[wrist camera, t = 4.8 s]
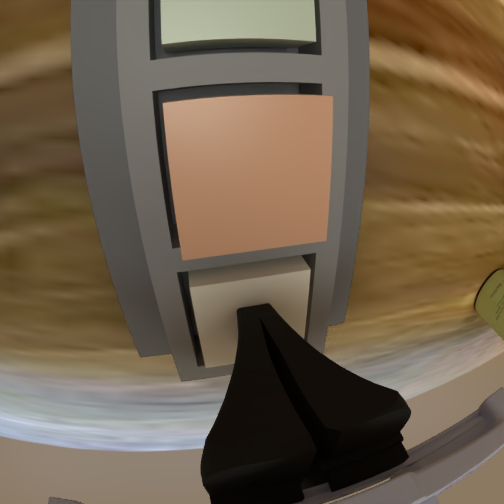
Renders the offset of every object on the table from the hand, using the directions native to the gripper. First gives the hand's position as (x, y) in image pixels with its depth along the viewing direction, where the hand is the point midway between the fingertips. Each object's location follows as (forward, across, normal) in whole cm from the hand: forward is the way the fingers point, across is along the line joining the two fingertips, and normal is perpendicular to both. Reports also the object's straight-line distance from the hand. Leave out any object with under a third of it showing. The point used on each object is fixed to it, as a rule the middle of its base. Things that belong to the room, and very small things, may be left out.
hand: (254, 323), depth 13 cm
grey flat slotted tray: (+4, 0, -10) cm, 10 cm away
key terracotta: (+1, 0, -6) cm, 6 cm away
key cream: (+2, 0, 0) cm, 2 cm away
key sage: (+2, 0, -13) cm, 13 cm away
